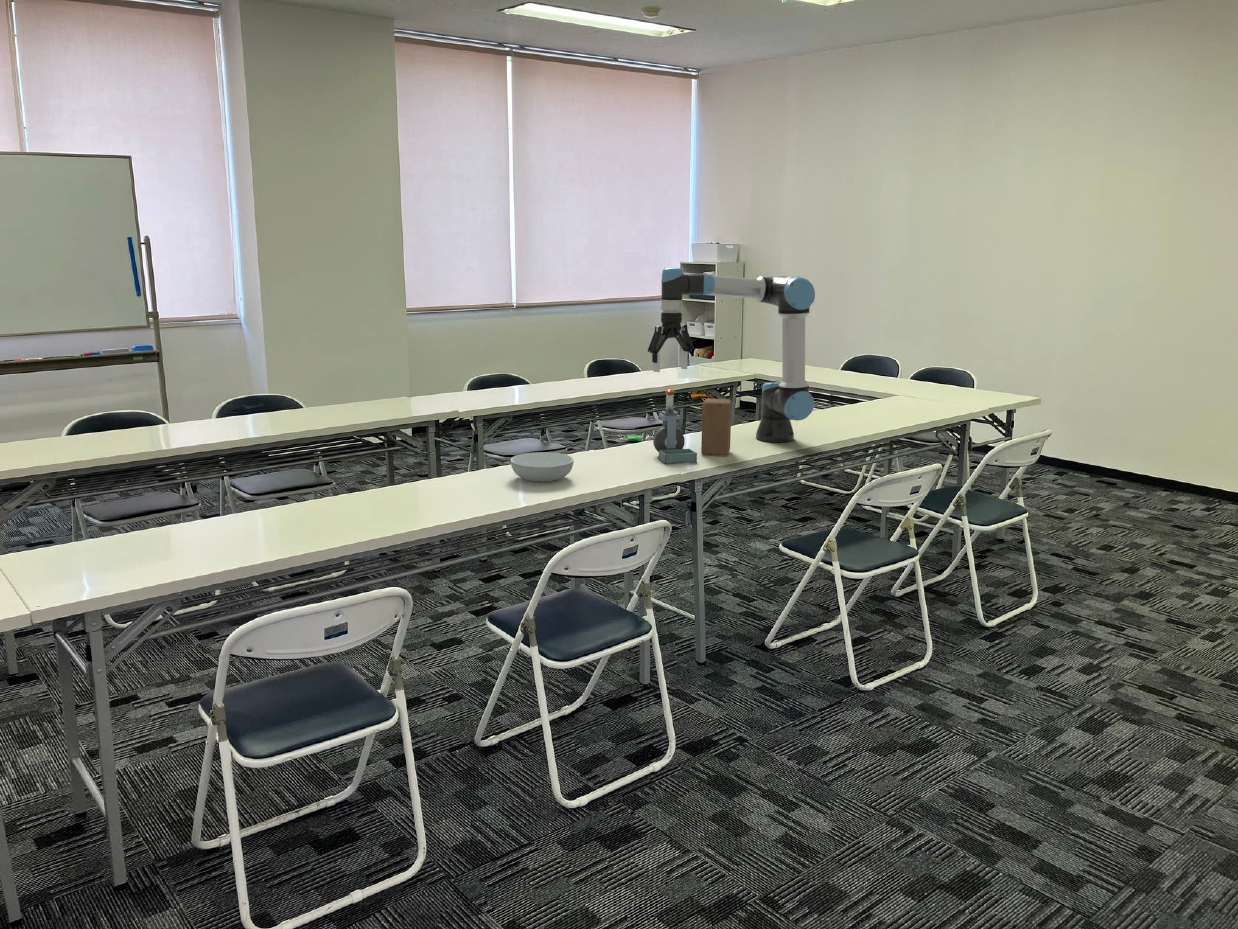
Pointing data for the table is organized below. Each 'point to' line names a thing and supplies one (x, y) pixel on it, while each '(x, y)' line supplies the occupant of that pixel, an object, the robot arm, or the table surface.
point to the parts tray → (677, 456)
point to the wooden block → (716, 427)
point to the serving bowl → (542, 466)
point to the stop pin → (669, 400)
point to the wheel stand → (668, 433)
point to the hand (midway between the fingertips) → (670, 370)
